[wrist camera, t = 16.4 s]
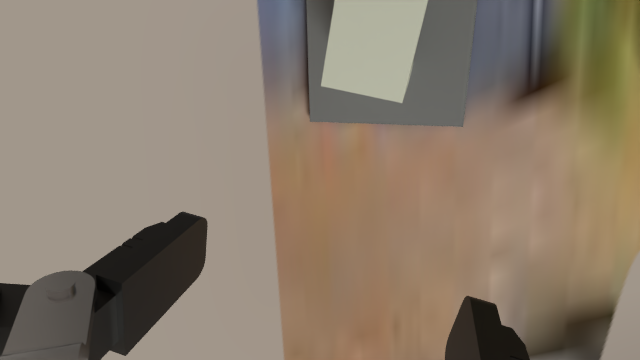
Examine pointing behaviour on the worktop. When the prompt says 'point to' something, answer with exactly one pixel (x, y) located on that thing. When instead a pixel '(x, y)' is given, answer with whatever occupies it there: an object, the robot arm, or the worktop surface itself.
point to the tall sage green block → (373, 46)
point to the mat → (426, 76)
